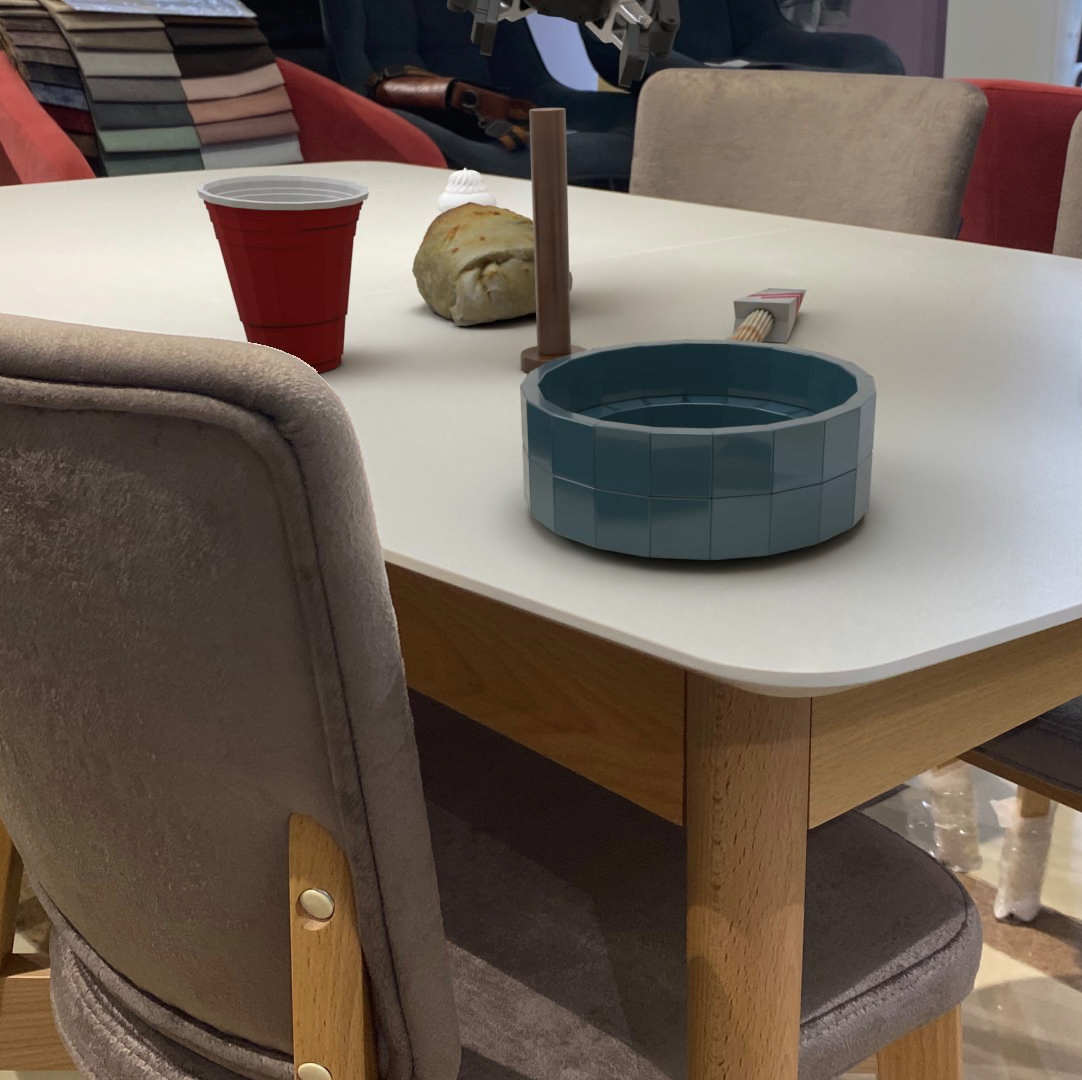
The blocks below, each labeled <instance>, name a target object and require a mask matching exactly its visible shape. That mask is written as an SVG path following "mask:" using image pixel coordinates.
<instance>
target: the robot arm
mask: <svg viewBox="0 0 1082 1080" xmlns="http://www.w3.org/2000/svg"><path fill="white" fill-rule="evenodd" d="M679 6H680V5H679V0H447V4H446V7H447V9H448V10H449V11H451V12H452V13H457V14H462V13H465V12H466V11H468V12H470V13H471V14H472V15H473V24H472V29H471V35H470V40H471V43H472V44H473V45H478V46H480V51H479V54H480V55H485V56H489V57H492V55H493V54H492V53H493V49H494V43H495V38H496V33H497V29H498V22H501V21H503V20H504V19H507V20H508V21H509V22H511V23H513V22H516V21H518V20H520V19H522V18H525V17H527V16H529V15H532V14H535V13H536V14H537V15H541V16H546V17H549V18H551V17H552V18H560V19H563V20H567V21H569V22H571V23H575V24H579V25H584V26H586V27H587V28H588V29H589V30H590V31H591V32H592V33H593V34H595V36H596V37H597V38H598V39H599V40H600V41H601V42H602V43H604V44H608V43H609V44H610V43H612V44H614V45H615V46H616V48H618V49H619V50H620V54H619V68H618V86H620V87H626V88H631V86H632V83H633V81H636V82H641V80H642V79H643V77H644V74H645V71H646V68H647V64H648V61H649V57H650V54H651V55H652V56H653V58H656V59H657V60H661V61H666V60H669V59H670V57H671V54H672V48H673V45H674V41H675V38H676V36H677V35H676V34H677V31H678V30H679V28H680V25H681V15H680V7H679Z"/></svg>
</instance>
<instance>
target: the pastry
mask: <svg viewBox="0 0 1082 1080" xmlns="http://www.w3.org/2000/svg"><path fill="white" fill-rule="evenodd" d="M412 263H413V264H412V268H411V272H412V274H413V276H414V278H415V281H416V287H417V289H418V292H419V295H420V296H421V297H422V299H423V300H424V302H425V304H427V305H428V306H429V310H430V312H433V313H437V314H438V315H439V316H442V317H443V318H445V319H446V320H453V324H454V325H456V326H459V327H460V326H461V327H462V326H463V327H465V326H466V327H467V326H472V325H477V324H482V323H492V322H495V321H499V320H508V319H513V318H518V317H522V316H527V315H529V314H536V295H535V266H534V237H533V219H531V218H529V217H527V216H524V215H522V214H519V213H516V212H515V211H512V210H510V209H509V208H505V207H504V208H501V207H499V206H497V205H496V206H491V205H487V206H483V205H480V204H476V203H472V202H468V203H466V204H463V205H461V206H458V207H455V208H452V209H449V210H447V211H445V212H443V213H442V214H441V213H440V214H439V215H437V216H436V217H435V218H434V219H433V221H431V223H430V224H429V225H428V227H427V228H426V231H425V234H424V236H423V239H422V242H421V244H420V245H419V248H418V250H417V252H416V254H415V256H414V259H413V262H412ZM569 277H570V292H572V289H573V281H574V280H573V274H572V272H571V271H570V270H569Z"/></svg>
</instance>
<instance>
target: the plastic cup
mask: <svg viewBox="0 0 1082 1080" xmlns="http://www.w3.org/2000/svg"><path fill="white" fill-rule="evenodd" d="M196 192H197V195H198V198H200V199H201V200H203V205H205V209H206V210H207V213H208V216H209V220H210V222H211V223H212V227H213V231H214V236H215V240H217V242H218V246H219V250H220V252H221V257H222V260H223V263H224V267H225V271H226V275H227V278H228V282H229V285H230V288H231V292H232V296H233V299H234V304H235V308H236V311H237V314H238V317H239V321H240V322H241V323H242V327H243V330H244V334H245V337H246V341H247V343H248V342H251V343H257V344H261V345H266V346H269V347H273V348H276V349H279V350H282V351H284V352H286V353H289V354H291V355H294V356H296V357H298V358H300V359H301V360H303V361H304V362H306V363H307V364H309V365H310V366H311V367H313V368H314V369H316V371H318V372H319V373H324V372H326V371H327V372H328V371H330V370H333V369H336V368H337V367H339V366H341V364H342V359H343V358H342V357H343V355H344V352H345V351H344V350H345V336H346V334H345V333H346V318H347V315H348V312H349V302H350V301H349V299H350V290H351V289H350V288H351V277H352V276H351V275H352V264H353V255H354V254H353V253H354V243H355V242H354V241H355V237H356V234H357V225H358V221H360V215H361V214H360V213H361V210H362V209H363V208H362V207H363V205H364V201H367V200H368V198H369V193H370V191H369V187H368V186H366V185H363V184H362V183H358V182H355V181H350V180H345V179H344V180H343V179H341V178H340V179H339V178H333V177H324V176H323V177H322V176H313V175H311V176H310V175H289V174H288V175H287V174H263V175H261V174H259V175H241V176H239V175H238V176H233V177H225V178H217V179H213V180H209V181H206V182H203V183H200V184H199V185H198V187H197V189H196Z"/></svg>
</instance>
